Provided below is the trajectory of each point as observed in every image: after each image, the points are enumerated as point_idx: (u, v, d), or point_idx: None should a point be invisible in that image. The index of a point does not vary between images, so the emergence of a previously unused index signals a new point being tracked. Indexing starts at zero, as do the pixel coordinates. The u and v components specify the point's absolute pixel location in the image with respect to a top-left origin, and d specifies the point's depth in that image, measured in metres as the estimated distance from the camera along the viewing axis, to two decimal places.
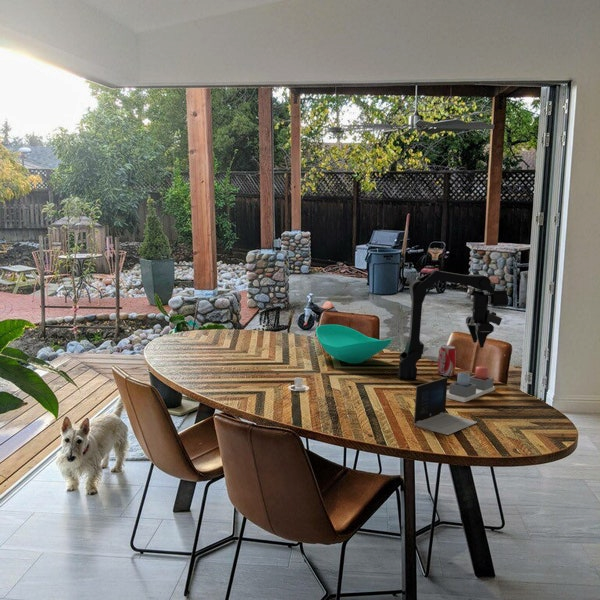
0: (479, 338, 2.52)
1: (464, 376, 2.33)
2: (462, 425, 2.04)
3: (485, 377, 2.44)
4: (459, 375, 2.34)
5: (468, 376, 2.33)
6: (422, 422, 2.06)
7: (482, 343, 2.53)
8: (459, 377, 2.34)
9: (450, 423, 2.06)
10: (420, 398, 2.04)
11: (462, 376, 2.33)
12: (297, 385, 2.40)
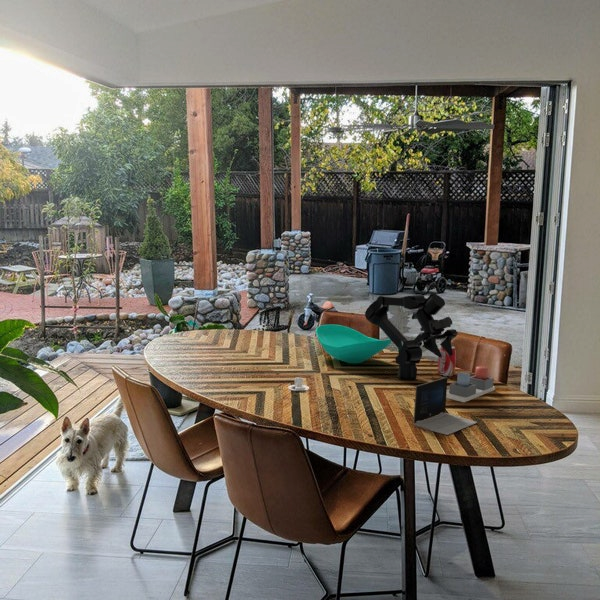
0: (431, 350, 2.42)
1: (464, 376, 2.33)
2: (462, 425, 2.04)
3: (485, 377, 2.44)
4: (459, 375, 2.34)
5: (468, 376, 2.33)
6: (422, 422, 2.06)
7: (437, 353, 2.41)
8: (459, 377, 2.34)
9: (450, 423, 2.06)
10: (420, 398, 2.05)
11: (462, 376, 2.33)
12: (297, 385, 2.39)
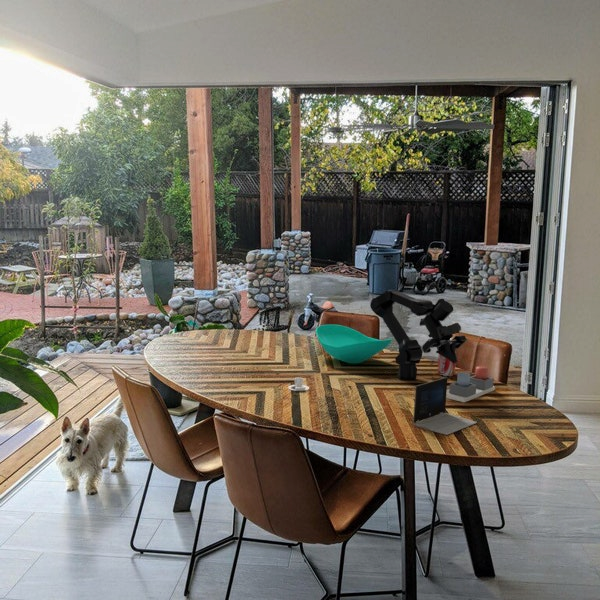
0: (445, 356, 2.40)
1: (464, 376, 2.33)
2: (461, 425, 2.04)
3: (485, 377, 2.44)
4: (459, 375, 2.34)
5: (468, 376, 2.33)
6: (421, 422, 2.06)
7: (451, 358, 2.38)
8: (459, 377, 2.34)
9: (449, 423, 2.06)
10: (419, 398, 2.05)
11: (462, 376, 2.33)
12: (297, 385, 2.39)
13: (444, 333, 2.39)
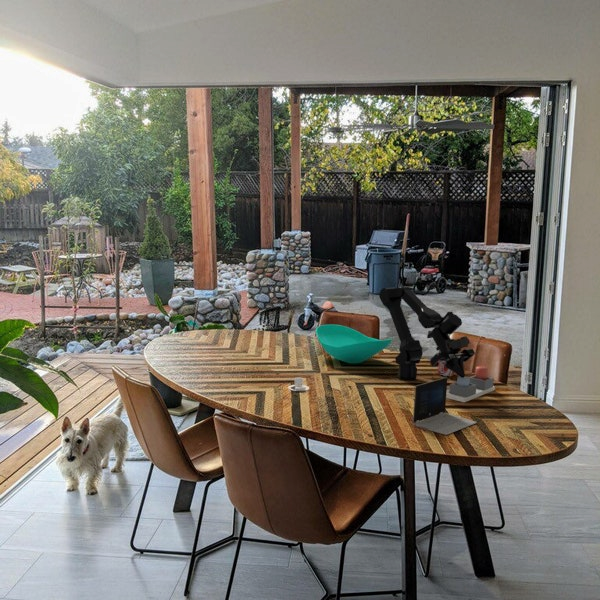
0: (453, 370, 2.37)
1: (464, 380, 2.33)
2: (461, 425, 2.04)
3: (485, 377, 2.44)
4: (459, 379, 2.34)
5: (468, 380, 2.34)
6: (421, 422, 2.06)
7: (459, 372, 2.36)
8: (459, 381, 2.34)
9: (449, 423, 2.06)
10: (419, 398, 2.05)
11: (462, 380, 2.33)
12: (297, 385, 2.39)
13: (452, 347, 2.36)
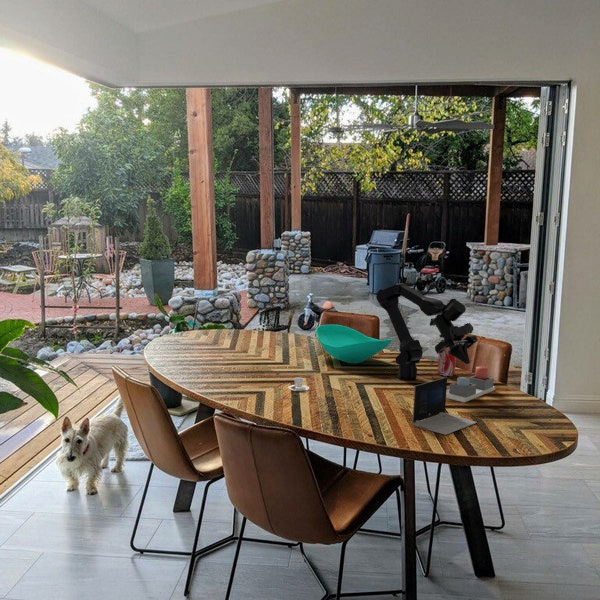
0: (457, 357, 2.37)
1: (464, 381, 2.33)
2: (461, 425, 2.04)
3: (485, 377, 2.44)
4: (459, 380, 2.34)
5: (468, 381, 2.34)
6: (421, 422, 2.06)
7: (464, 359, 2.36)
8: (459, 382, 2.34)
9: (449, 423, 2.06)
10: (419, 398, 2.05)
11: (462, 381, 2.34)
12: (297, 385, 2.39)
13: (457, 334, 2.36)
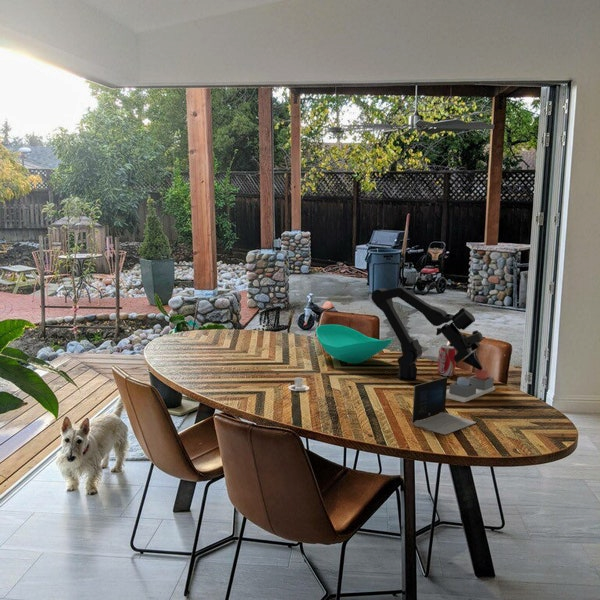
0: (471, 364, 2.46)
1: (464, 381, 2.33)
2: (460, 425, 2.04)
3: None
4: (459, 380, 2.34)
5: (468, 381, 2.34)
6: (420, 421, 2.06)
7: (478, 366, 2.45)
8: (459, 382, 2.34)
9: (448, 423, 2.06)
10: (418, 398, 2.05)
11: (462, 381, 2.34)
12: (297, 385, 2.39)
13: (471, 342, 2.44)
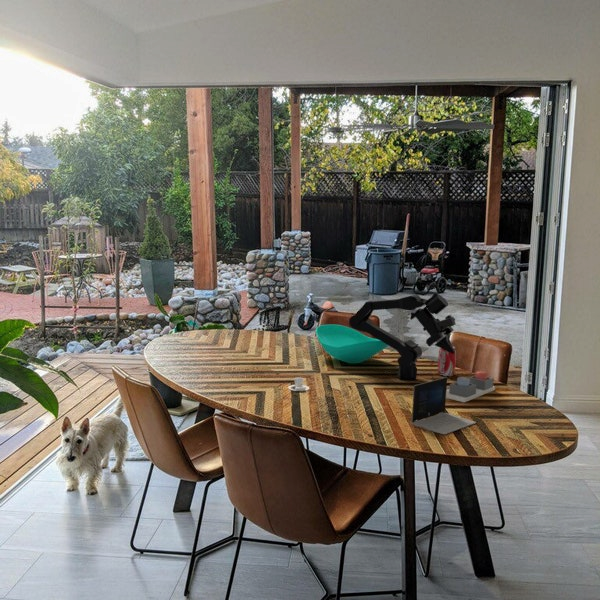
0: (443, 348, 2.50)
1: (464, 381, 2.33)
2: (460, 425, 2.04)
3: None
4: (459, 380, 2.34)
5: (468, 381, 2.34)
6: (420, 421, 2.06)
7: (450, 349, 2.50)
8: (459, 382, 2.34)
9: (448, 423, 2.06)
10: (418, 397, 2.05)
11: (462, 381, 2.34)
12: (297, 385, 2.39)
13: (443, 326, 2.48)
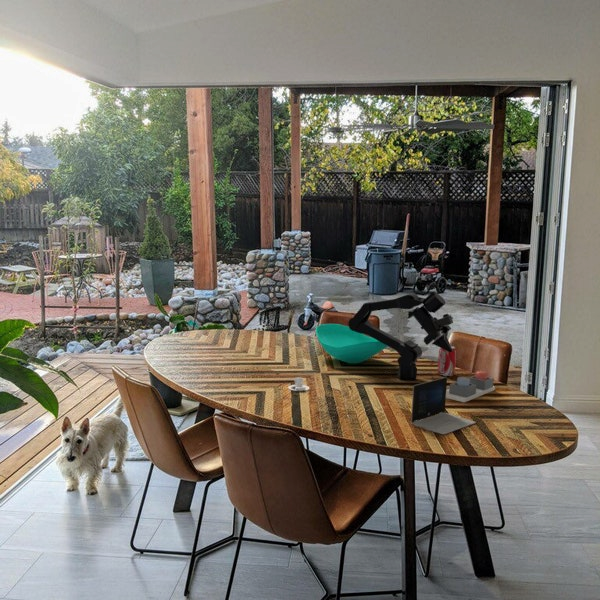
0: (441, 346, 2.50)
1: (464, 381, 2.33)
2: (460, 425, 2.04)
3: None
4: (459, 380, 2.34)
5: (468, 381, 2.34)
6: (420, 421, 2.06)
7: (448, 348, 2.50)
8: (459, 382, 2.34)
9: (448, 423, 2.06)
10: (417, 397, 2.05)
11: (462, 381, 2.34)
12: (297, 385, 2.39)
13: (441, 324, 2.49)
